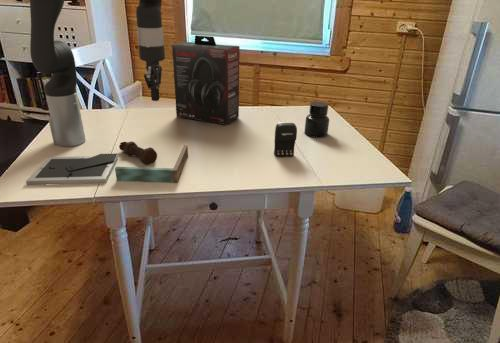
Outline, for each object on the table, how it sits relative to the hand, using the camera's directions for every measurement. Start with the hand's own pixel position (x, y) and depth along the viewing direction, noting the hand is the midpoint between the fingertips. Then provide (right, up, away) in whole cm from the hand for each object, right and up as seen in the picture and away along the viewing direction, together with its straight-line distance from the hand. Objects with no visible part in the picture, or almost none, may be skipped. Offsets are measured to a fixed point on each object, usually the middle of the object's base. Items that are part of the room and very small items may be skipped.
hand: (155, 100), depth 116 cm
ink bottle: (+56, -8, +26) cm, 62 cm away
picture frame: (-21, -24, -8) cm, 33 cm away
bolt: (-6, -19, +2) cm, 20 cm away
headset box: (+12, 0, +40) cm, 41 cm away
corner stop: (+1, -22, -5) cm, 22 cm away
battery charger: (+42, -18, +6) cm, 46 cm away
